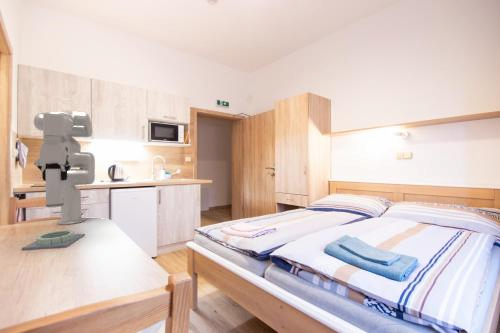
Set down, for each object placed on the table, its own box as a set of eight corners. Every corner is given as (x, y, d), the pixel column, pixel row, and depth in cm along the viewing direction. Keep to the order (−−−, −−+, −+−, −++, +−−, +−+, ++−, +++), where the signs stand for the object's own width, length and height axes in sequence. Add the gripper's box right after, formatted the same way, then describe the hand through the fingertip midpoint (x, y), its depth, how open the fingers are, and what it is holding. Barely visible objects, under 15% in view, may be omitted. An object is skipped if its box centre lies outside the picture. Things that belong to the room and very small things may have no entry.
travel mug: (68, 204, 109) (67, 161, 109) (55, 207, 102) (54, 161, 102) (55, 204, 110) (55, 161, 109) (42, 207, 103) (41, 161, 103)
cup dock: (47, 237, 112) (46, 230, 112) (84, 235, 115) (84, 228, 115) (21, 250, 96) (21, 241, 96) (66, 247, 99) (66, 239, 99)
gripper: (80, 141, 111) (80, 179, 111) (37, 141, 107) (38, 180, 108) (71, 140, 104) (72, 180, 104) (25, 139, 100) (26, 181, 100)
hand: (55, 180), depth 106 cm, fingers closed on travel mug, 6 cm apart
